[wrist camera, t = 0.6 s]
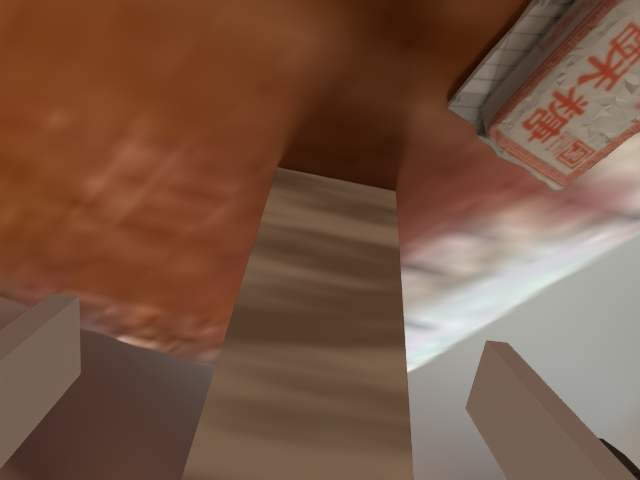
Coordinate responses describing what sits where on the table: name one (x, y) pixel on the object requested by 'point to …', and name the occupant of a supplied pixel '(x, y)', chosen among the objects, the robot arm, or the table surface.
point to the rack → (313, 345)
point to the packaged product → (558, 87)
